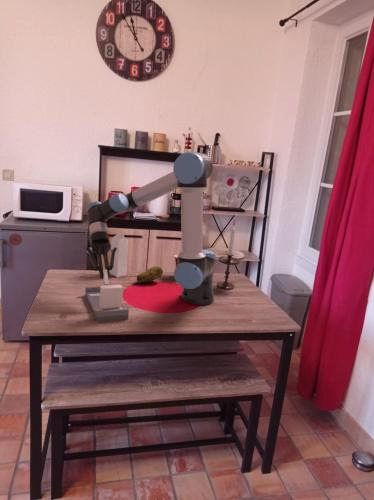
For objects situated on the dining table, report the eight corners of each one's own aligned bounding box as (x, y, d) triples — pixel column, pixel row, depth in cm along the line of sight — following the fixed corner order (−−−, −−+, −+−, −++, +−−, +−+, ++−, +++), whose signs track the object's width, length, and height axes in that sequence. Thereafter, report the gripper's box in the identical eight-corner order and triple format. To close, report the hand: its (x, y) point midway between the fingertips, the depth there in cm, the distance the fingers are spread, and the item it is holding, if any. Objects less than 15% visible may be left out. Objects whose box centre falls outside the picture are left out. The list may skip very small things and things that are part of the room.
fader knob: (98, 307, 144) (99, 284, 141) (118, 306, 147) (120, 283, 145) (101, 313, 139) (102, 289, 137) (122, 311, 143) (123, 288, 140)
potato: (135, 278, 187) (137, 263, 185) (161, 279, 189) (162, 265, 187) (136, 284, 179) (137, 269, 177) (162, 285, 181) (164, 270, 179)
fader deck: (85, 295, 160) (85, 286, 159) (112, 293, 165) (113, 285, 164) (96, 322, 138) (97, 312, 136) (128, 319, 143) (128, 309, 142)
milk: (116, 277, 186) (119, 234, 180) (109, 273, 190) (111, 232, 184) (126, 275, 190) (129, 233, 185) (119, 271, 194) (121, 231, 188)
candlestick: (234, 292, 183) (244, 222, 174) (212, 287, 185) (221, 219, 176) (237, 285, 193) (247, 219, 184) (217, 281, 196) (225, 216, 187)
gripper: (112, 239, 164) (120, 287, 154) (82, 239, 159) (88, 290, 149) (116, 230, 158) (124, 280, 148) (85, 230, 153) (91, 282, 143)
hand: (106, 285), depth 148 cm, fingers closed
